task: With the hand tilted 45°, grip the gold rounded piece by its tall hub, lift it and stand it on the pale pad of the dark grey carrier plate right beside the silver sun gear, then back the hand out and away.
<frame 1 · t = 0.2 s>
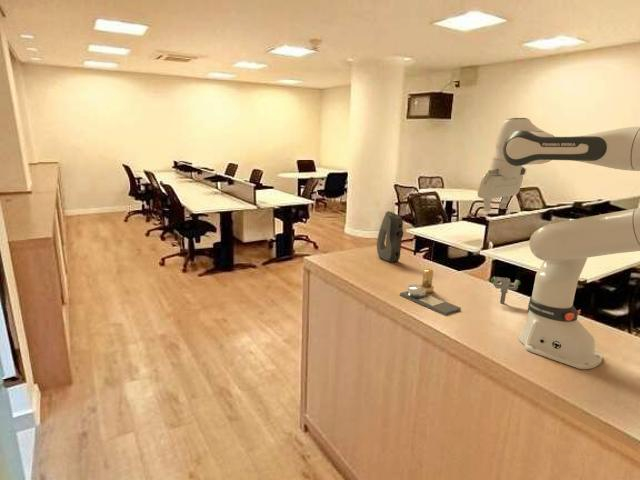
hand: (494, 209, 139), 39 cm above the table, tool pointing down, fingers open, 8 cm apart
gold rounded piece: (426, 291, 171), on the table
mechanical component: (502, 303, 161), on the table
handheld device: (386, 260, 213), on the table
carrier plate: (429, 302, 158), on the table
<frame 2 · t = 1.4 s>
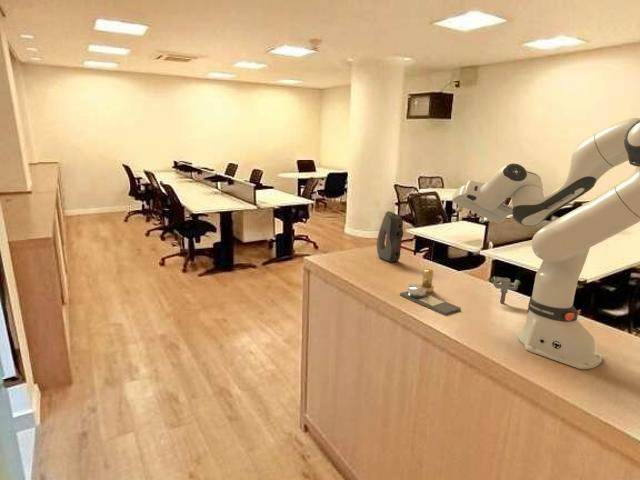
hand: (469, 215, 157), 33 cm above the table, tool tilted 50°, fingers open, 8 cm apart
nothing on the table moved.
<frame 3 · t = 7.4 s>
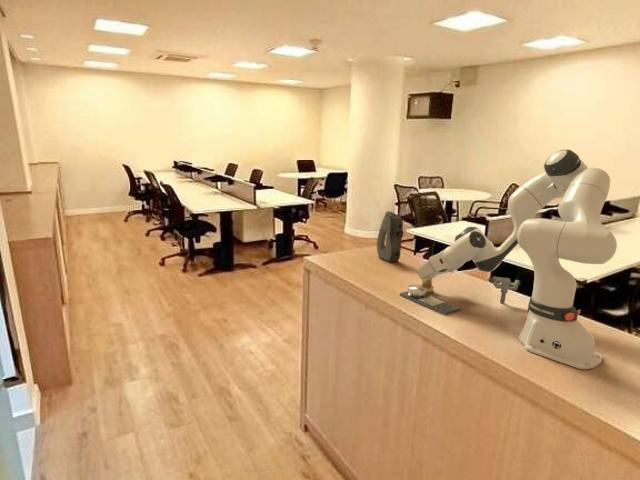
hand: (426, 277, 170), 6 cm above the table, tool tilted 45°, fingers closed on gold rounded piece, 4 cm apart
gold rounded piece: (426, 291, 171), on the table, touching gripper
everything else where it was.
when the fingers open (8 cm above the table, at t = 13.2 s): gold rounded piece stays where it is, resting on carrier plate.
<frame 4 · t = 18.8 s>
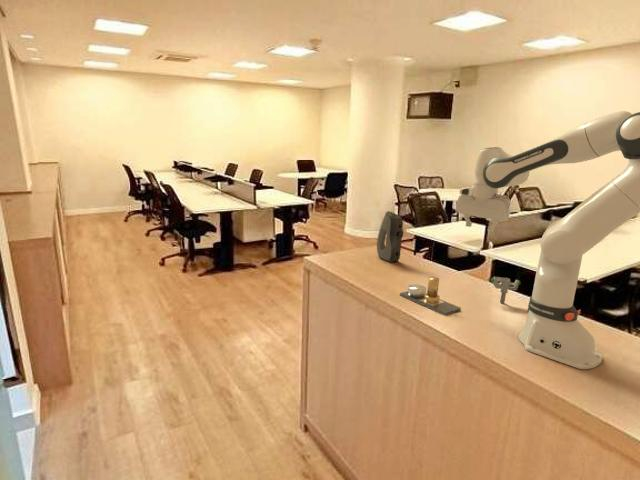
hand: (479, 228, 155), 29 cm above the table, tool pointing down, fingers open, 8 cm apart
gold rounded piece: (431, 300, 157), point 1 cm above the table, touching carrier plate
everything else where it was.
at the end: gold rounded piece 0.0 cm from the target spot on the carrier plate, point 1.1 cm above the carrier plate's base; gold rounded piece tilted 0°; the gripper is holding nothing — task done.
